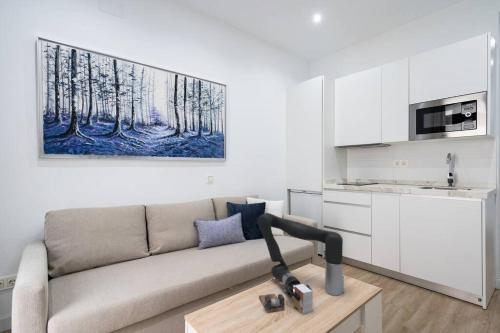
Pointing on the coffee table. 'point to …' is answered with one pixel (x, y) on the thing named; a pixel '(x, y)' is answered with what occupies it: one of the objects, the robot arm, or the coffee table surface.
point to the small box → (303, 299)
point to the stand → (273, 302)
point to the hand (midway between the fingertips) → (305, 298)
